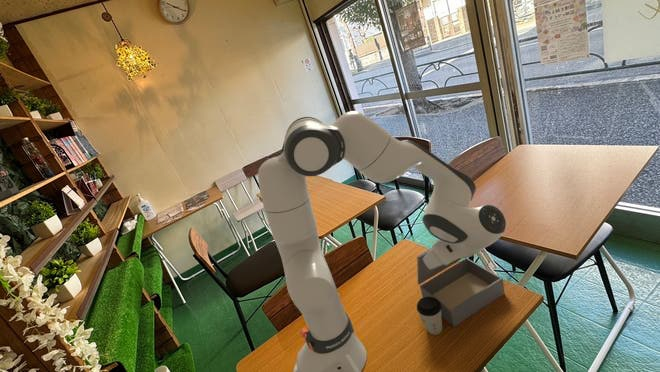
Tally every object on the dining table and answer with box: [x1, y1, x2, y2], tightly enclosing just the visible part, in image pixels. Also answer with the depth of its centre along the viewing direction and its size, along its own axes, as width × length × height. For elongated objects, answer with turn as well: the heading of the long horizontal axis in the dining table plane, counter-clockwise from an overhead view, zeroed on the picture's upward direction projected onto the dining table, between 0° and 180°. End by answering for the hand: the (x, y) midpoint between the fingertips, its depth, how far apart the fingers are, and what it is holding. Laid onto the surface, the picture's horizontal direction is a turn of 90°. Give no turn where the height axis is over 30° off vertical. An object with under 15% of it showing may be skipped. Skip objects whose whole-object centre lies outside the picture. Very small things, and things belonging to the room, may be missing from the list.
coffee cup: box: [416, 297, 443, 336], centre depth 90 cm, size 7×7×10 cm
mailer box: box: [419, 257, 506, 328], centre depth 98 cm, size 20×14×6 cm
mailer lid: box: [416, 247, 462, 285], centre depth 99 cm, size 20×14×1 cm
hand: (445, 254), depth 97 cm, fingers closed, pressing on mailer lid
